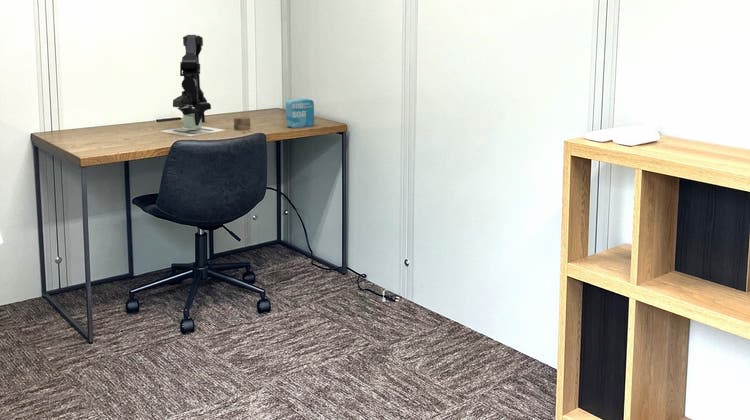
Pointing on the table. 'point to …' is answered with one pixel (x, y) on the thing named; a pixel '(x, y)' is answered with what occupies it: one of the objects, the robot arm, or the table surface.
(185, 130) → the board
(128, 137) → the table surface
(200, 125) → the sage cube
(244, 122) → the walnut block
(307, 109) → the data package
